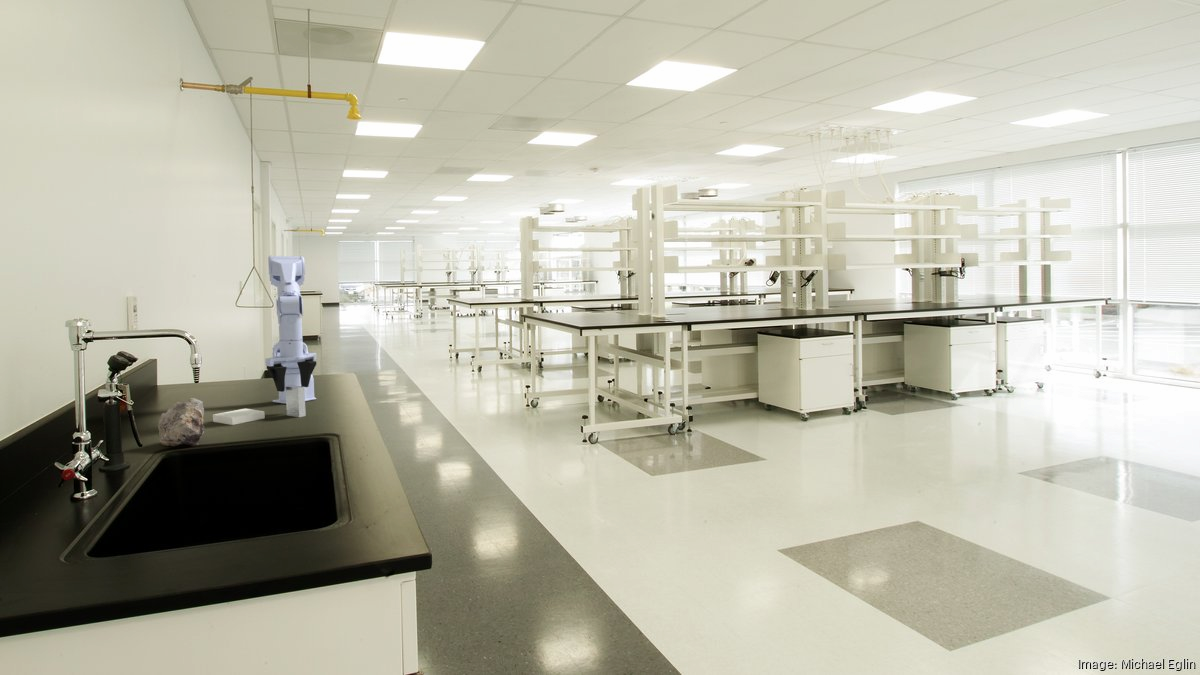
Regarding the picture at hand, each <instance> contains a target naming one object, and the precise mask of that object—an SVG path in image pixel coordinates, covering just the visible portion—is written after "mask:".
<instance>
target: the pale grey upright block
mask: <svg viewBox="0 0 1200 675" xmlns="http://www.w3.org/2000/svg"><path fill="white" fill-rule="evenodd" d="M285 408H286V416H289V417H295V418H302V417H306V414H307V413H306V401H305V387H302V386H294V385H291V386H286V407H285Z"/></svg>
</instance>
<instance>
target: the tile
mask: <svg viewBox="0 0 1200 675" xmlns="http://www.w3.org/2000/svg"><path fill="white" fill-rule="evenodd" d="M265 417H266V416H265V411H263V410H258V409H251V408H239V409H237V410H236V409H235V410H230V411H229V410H228V411H226V412H219V413H215V414H212V422H214V423H219V424H225V425H231V426H234V425H239V424H244V423H248V422H253V421H259V420H263V419H265Z"/></svg>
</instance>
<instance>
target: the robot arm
mask: <svg viewBox="0 0 1200 675" xmlns="http://www.w3.org/2000/svg"><path fill="white" fill-rule="evenodd" d="M267 259H268V261H267V262H268V275H269V281H270V284H271V285H272V286H273V287H276V288H277V298H276V299H275V304H276V306H275V307H276V316H277V324H278V325H279V326H278V335H279V336H278V338H279V341H278V342H277V343H276V344H274V345H273V347H272V354H271V355H272V357H269V358H265V366H266V369H267V371H268V373H269V374H270V376H271V378H272V380H273V382H274V385H275V388H276V391H277V392H278V399H273V400H272V403H280V404H286V386H291V385H294V386H302V387H305V402H308V401H314V400H317V397H315V380H314V376H313V372H314V370H315V367H316V366H317V358H318V357H317V352H309V350H308V349H309V348H308V346H307V344H306V343H305V342H303V340H304V339H303V323H302V322H303V320H302V319H303V318H302V317H303V316H304V300H303V296H302V294H301V288H300V286H302V285H304V282H305V275H306V269H305V268H306V265H305V264H306V263H305V257H304V256H303V255H300V256H299V255H296V256H295V255H272V254H271V255H269V256H268V258H267Z"/></svg>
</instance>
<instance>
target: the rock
mask: <svg viewBox="0 0 1200 675" xmlns="http://www.w3.org/2000/svg"><path fill="white" fill-rule="evenodd" d="M204 415H205V408H204V402H203V401H202V400H200V399H198V398H195V397H192V398H191V397H190V398H189V399H188V400H187V402H185V401H183V402H180V401H177V402H175V403H174V404H173V405H172V406H171V407H169V408H168V409H167V411H166V412H163V413H161V415H160V417H159V419H158V420H159V421H158V426H157V427H158V435H159V437H158V438H159V442H160V444H161V445H162V446H163V445H164V446H167V447H168V446H169V447H170V446H172V447H175V446H176V447H177V446H181V445H188V446H198V445H199V444H200V442H199V441H200V438H202V436H203V435H204V432H205V431H204V430H205V425H204Z"/></svg>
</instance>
